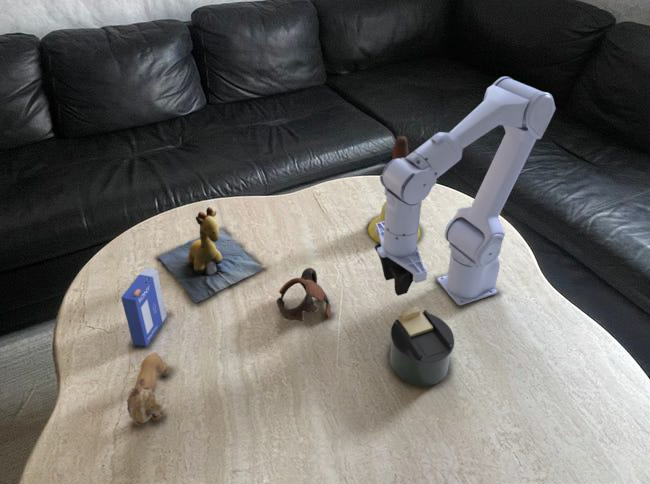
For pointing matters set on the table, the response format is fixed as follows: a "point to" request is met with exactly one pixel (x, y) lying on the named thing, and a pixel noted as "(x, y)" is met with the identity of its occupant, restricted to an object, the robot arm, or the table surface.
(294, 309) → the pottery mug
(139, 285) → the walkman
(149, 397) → the lion figurine
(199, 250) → the stuffed giraffe
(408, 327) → the slider
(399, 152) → the handbell
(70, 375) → the table surface
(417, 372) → the canister
